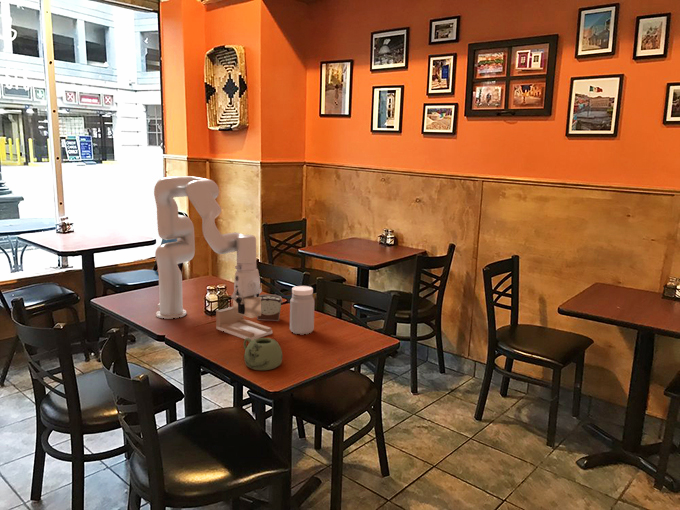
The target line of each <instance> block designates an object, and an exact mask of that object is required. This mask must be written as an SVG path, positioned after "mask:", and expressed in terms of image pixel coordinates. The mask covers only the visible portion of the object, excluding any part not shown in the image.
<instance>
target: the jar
mask: <svg viewBox="0 0 680 510" xmlns="http://www.w3.org/2000/svg"><path fill="white" fill-rule="evenodd" d="M313 293H314V288H313V287H312V286H308V285H297V286H294V287H292V288H291V298H290V300H289V331H290V332H291V333H292V332H293V333H292V334H294V335H297V334H300V335H301V336H304V334H306V335H309V333H310V334H312V332H313V331H314V329H315V298H314V297H313V296H314V295H313Z"/></svg>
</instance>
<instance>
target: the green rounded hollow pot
mask: <svg viewBox="0 0 680 510" xmlns="http://www.w3.org/2000/svg"><path fill="white" fill-rule="evenodd" d="M247 342H248V345H247ZM242 344H243V348H244V350H245V351H244V355H243V356H244V357H243V359H244V363H245V366H247V367H248V368H250V369H251V370H255V371H271V370H275V369H276V368H278V367H279V366H281V364H282V362H283V352H282V347H281V346H280V344H279V342H278V341H277V340H276V339H274V338H271V337H260V338H257V339H254V340H251V339H250V338H246V339H244V340H243V343H242Z"/></svg>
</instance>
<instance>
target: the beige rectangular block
mask: <svg viewBox="0 0 680 510" xmlns="http://www.w3.org/2000/svg"><path fill="white" fill-rule="evenodd" d="M237 297H238V296H237ZM240 300H241V298H240ZM243 304H244V308H245V313H244V314H241V313H238V303H237V302H236V301H235V300H234V299H233V298H232V307H233V312H234V313H237V314H240V315H243V317H246V318H250V319H254V318H257V317H258V316H261V298H258V297H255V296H248V297H245V298H244V302H243Z"/></svg>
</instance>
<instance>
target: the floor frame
mask: <svg viewBox="0 0 680 510" xmlns="http://www.w3.org/2000/svg"><path fill="white" fill-rule="evenodd" d="M215 312H216V313H215V325H216V326H215V327H216V330H219V331H221V332H223V331H224V332H223V333H225V334H229V335H232V336H234V337H237V338H239V339H242V340H243V339H244V340H245V339H246V338H250V339H251V340H254V339H257V338H264V337H266V336H270V335H272V334H273V330H272V327H269V326H267V325H263V324H260V323H257V322H254V321H252V320H248V319H245V318H244V316H243V315H240V314H237V313H234V312H233V306H229V307H226V308H222V309H218V310H215Z"/></svg>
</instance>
